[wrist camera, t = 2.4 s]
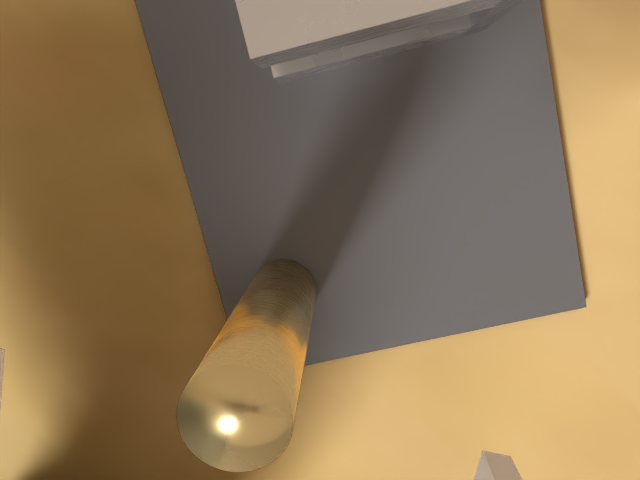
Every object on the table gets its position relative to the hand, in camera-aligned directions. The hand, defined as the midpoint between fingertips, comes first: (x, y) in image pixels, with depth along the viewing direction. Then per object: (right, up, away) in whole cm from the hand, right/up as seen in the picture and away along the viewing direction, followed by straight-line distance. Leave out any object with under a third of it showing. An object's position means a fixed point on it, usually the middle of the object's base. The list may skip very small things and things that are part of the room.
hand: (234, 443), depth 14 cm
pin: (0, +3, +14) cm, 14 cm away
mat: (+4, +12, +13) cm, 18 cm away
